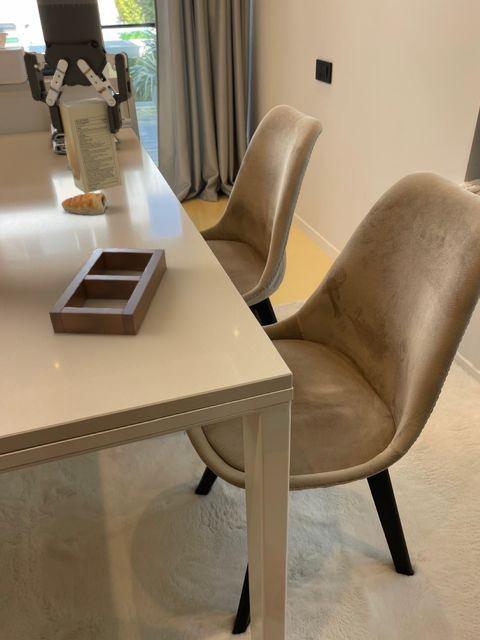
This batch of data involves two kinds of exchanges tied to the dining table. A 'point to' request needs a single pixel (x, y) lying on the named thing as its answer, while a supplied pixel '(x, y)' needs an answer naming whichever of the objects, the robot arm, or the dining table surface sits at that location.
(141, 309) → the stand
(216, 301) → the dining table surface
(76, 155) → the cosmetic box
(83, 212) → the pastry
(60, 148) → the towel
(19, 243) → the dining table surface
